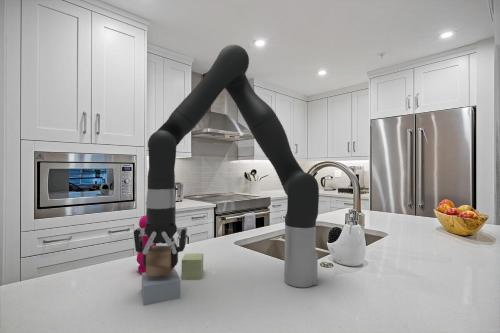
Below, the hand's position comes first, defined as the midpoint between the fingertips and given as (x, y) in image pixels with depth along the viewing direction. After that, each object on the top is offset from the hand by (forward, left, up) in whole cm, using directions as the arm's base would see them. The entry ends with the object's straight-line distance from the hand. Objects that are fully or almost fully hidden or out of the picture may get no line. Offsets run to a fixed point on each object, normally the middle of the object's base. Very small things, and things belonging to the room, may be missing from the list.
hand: (160, 266), depth 72 cm
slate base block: (0, 0, -8) cm, 8 cm away
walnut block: (0, 0, -1) cm, 1 cm away
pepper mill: (+8, -16, -8) cm, 19 cm away
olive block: (-7, -12, -8) cm, 16 cm away
